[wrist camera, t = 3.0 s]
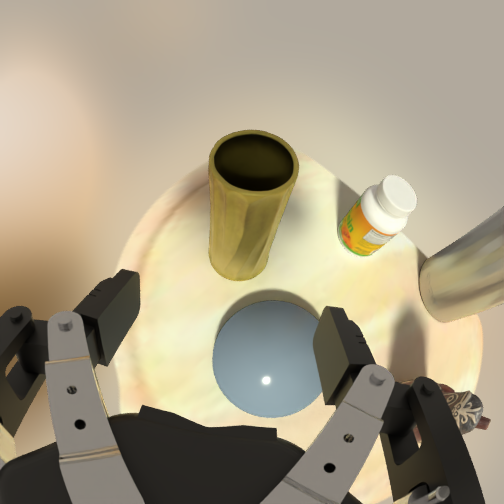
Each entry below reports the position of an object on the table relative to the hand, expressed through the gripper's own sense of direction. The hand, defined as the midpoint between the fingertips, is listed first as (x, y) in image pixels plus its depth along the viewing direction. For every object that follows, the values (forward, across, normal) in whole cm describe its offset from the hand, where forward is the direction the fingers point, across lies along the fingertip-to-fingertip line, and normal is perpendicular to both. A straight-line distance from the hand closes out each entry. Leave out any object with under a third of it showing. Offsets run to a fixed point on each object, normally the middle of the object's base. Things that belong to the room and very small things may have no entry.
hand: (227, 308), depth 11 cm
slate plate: (+9, -5, +12) cm, 16 cm away
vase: (+17, 0, +4) cm, 17 cm away
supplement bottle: (+20, -13, +1) cm, 24 cm away
